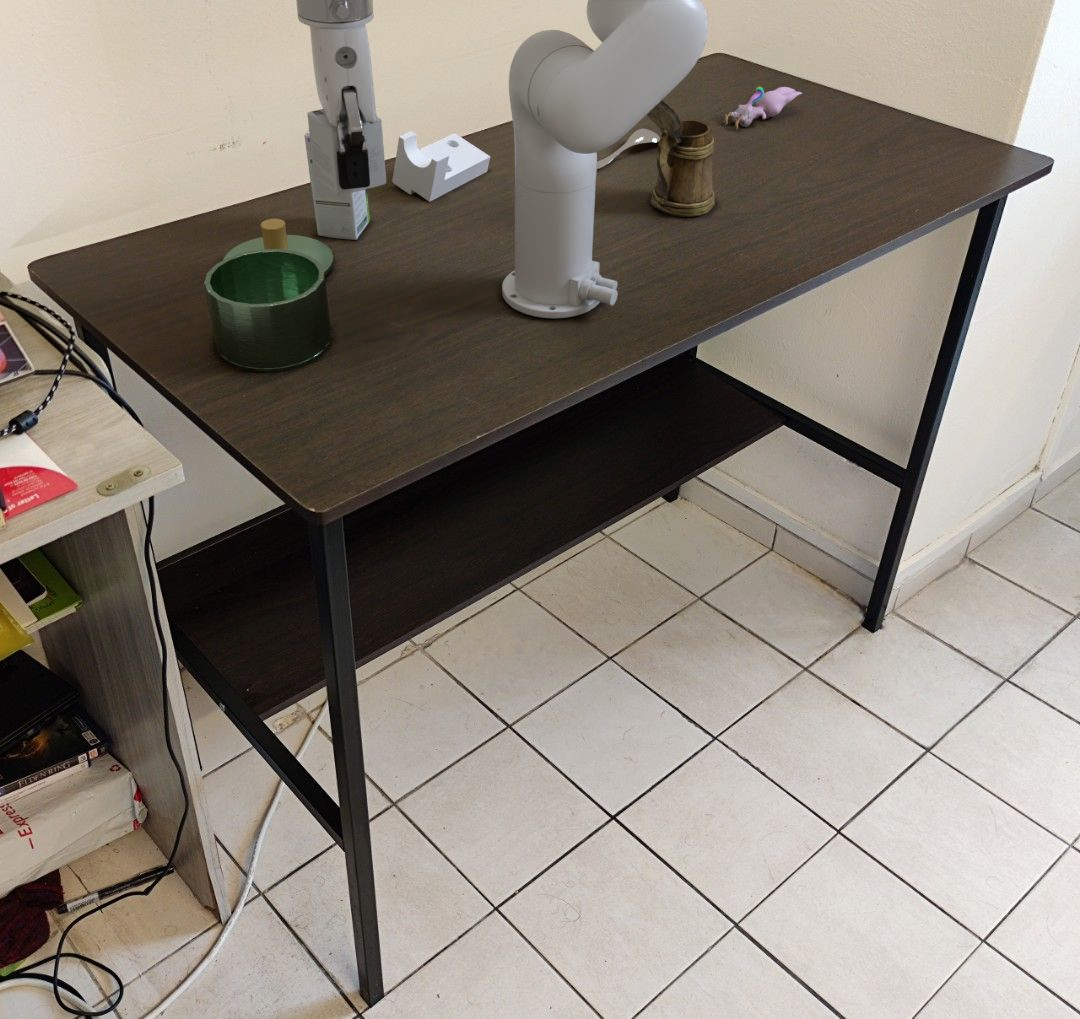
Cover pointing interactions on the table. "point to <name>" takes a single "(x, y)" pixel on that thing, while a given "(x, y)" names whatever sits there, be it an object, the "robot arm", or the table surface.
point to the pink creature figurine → (762, 105)
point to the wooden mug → (682, 164)
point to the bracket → (436, 165)
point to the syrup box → (337, 207)
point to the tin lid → (286, 243)
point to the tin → (269, 309)
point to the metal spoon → (632, 144)
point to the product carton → (327, 148)
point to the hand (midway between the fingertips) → (348, 170)
